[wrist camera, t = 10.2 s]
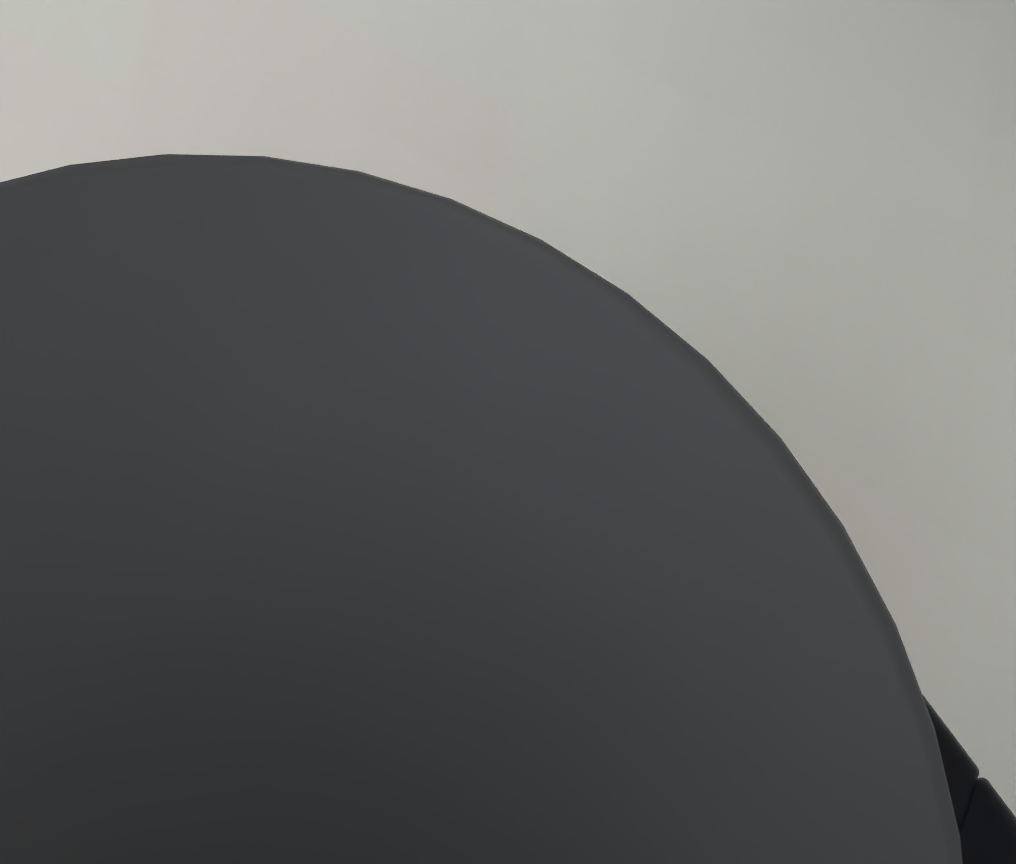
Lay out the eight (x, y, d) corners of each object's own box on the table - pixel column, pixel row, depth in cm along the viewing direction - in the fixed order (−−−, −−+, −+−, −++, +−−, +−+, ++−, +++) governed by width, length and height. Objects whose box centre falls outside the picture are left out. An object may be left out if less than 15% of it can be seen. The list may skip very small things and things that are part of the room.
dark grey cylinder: (561, 741, 14) (451, 2218, 2) (318, 593, 15) (-814, 1154, 3) (704, 490, 14) (1375, 638, 2) (455, 351, 15) (-103, -144, 3)
